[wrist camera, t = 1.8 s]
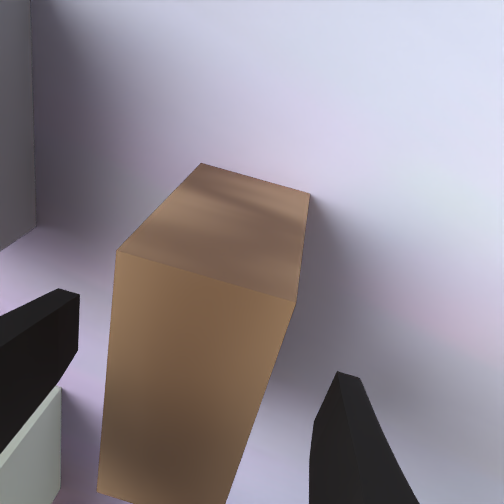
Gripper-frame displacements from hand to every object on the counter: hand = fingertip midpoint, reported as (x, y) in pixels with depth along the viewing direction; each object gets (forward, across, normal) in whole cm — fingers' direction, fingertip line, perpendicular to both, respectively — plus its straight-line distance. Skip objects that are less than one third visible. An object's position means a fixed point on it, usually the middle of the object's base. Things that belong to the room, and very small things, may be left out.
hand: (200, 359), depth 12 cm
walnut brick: (+4, 0, 0) cm, 4 cm away
